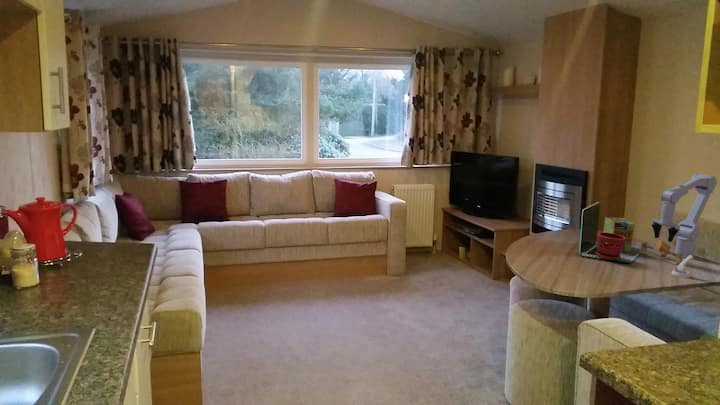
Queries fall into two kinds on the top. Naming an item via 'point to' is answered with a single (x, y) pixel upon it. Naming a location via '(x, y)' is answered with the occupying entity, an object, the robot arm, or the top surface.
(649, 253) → the stand
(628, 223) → the protein box
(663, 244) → the block
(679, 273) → the hook
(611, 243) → the plant pot
